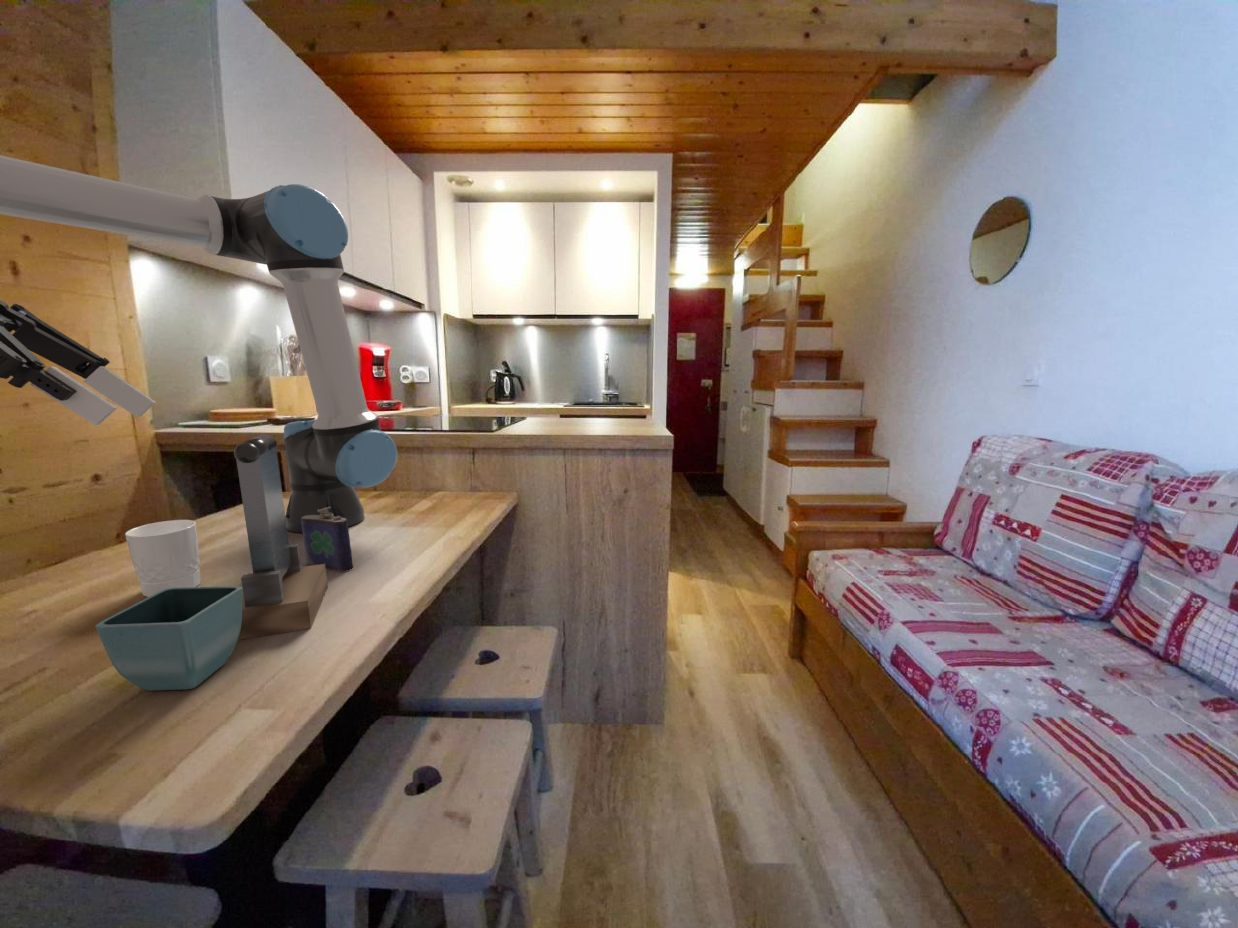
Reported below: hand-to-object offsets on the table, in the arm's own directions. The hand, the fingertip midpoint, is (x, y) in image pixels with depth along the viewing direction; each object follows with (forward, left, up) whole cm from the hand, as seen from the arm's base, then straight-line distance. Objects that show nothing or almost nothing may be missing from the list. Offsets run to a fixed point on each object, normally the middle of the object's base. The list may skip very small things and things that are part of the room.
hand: (128, 412), depth 59 cm
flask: (-21, +9, -29) cm, 37 cm away
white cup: (-11, -10, -29) cm, 32 cm away
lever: (-5, +12, -24) cm, 27 cm away
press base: (-5, +12, -29) cm, 31 cm away
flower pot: (+10, +12, -29) cm, 33 cm away
